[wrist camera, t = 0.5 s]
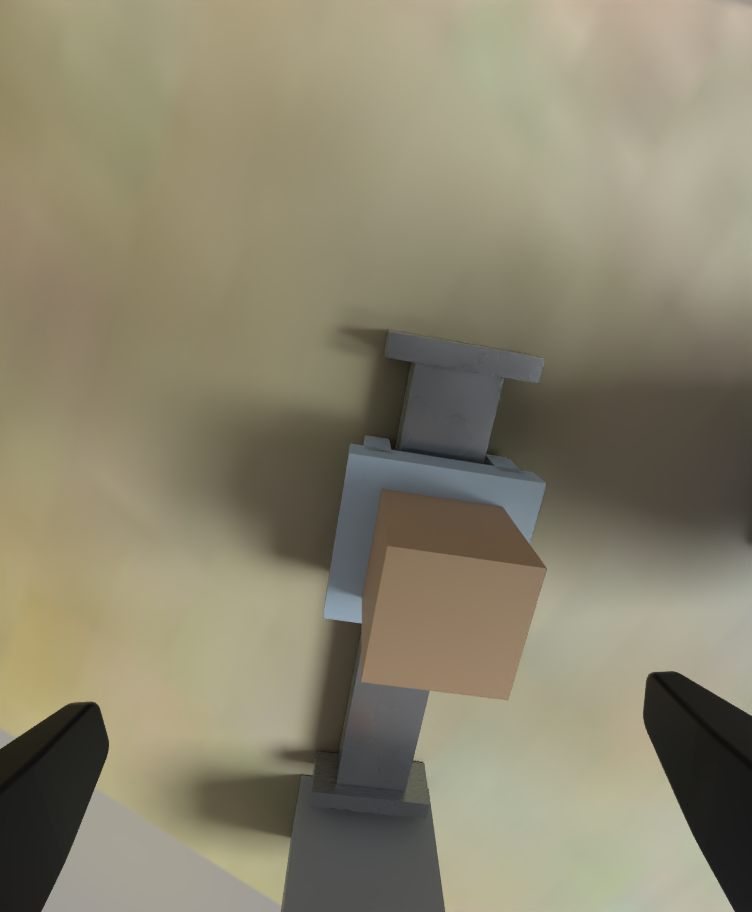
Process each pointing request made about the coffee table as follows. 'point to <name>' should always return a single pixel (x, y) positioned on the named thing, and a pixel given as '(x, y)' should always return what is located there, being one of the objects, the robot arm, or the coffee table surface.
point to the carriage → (436, 568)
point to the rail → (369, 705)
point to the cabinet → (360, 861)
